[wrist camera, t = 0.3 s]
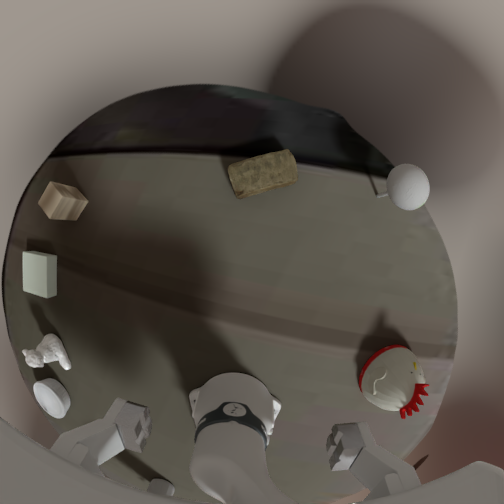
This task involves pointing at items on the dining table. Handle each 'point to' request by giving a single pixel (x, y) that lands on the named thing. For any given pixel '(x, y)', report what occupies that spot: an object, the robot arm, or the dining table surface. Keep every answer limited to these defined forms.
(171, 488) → the water bottle
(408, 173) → the lollipop
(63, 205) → the birch block
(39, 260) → the sage block
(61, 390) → the ramekin
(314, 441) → the dining table surface
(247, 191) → the stone block
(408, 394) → the kitchen timer
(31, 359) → the seated beast figurine
